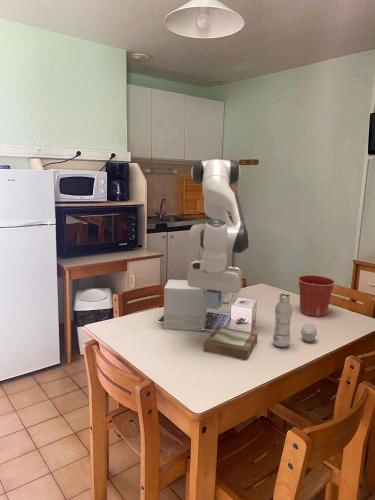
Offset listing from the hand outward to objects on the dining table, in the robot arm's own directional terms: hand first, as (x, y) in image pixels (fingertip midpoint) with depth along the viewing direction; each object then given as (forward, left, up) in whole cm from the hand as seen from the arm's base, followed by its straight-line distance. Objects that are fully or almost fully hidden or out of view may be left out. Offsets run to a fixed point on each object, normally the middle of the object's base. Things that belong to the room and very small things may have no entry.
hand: (213, 300), depth 141 cm
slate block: (0, 0, -2) cm, 2 cm away
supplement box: (-13, -17, -18) cm, 28 cm away
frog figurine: (-19, +33, -18) cm, 42 cm away
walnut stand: (-1, +7, -17) cm, 19 cm away
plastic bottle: (-10, +24, -18) cm, 32 cm away
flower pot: (-52, +32, -18) cm, 64 cm away
